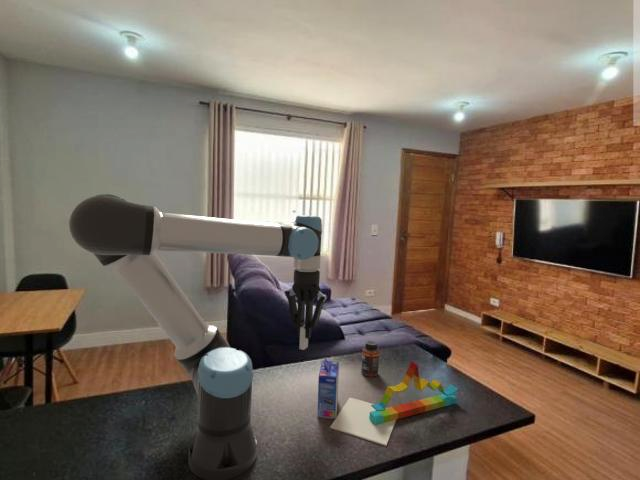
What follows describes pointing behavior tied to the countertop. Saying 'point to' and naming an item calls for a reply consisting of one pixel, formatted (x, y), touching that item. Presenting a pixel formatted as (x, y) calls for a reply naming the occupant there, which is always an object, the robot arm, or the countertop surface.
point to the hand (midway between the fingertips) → (303, 347)
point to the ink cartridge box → (328, 389)
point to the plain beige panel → (362, 422)
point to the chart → (413, 407)
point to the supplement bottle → (370, 359)
